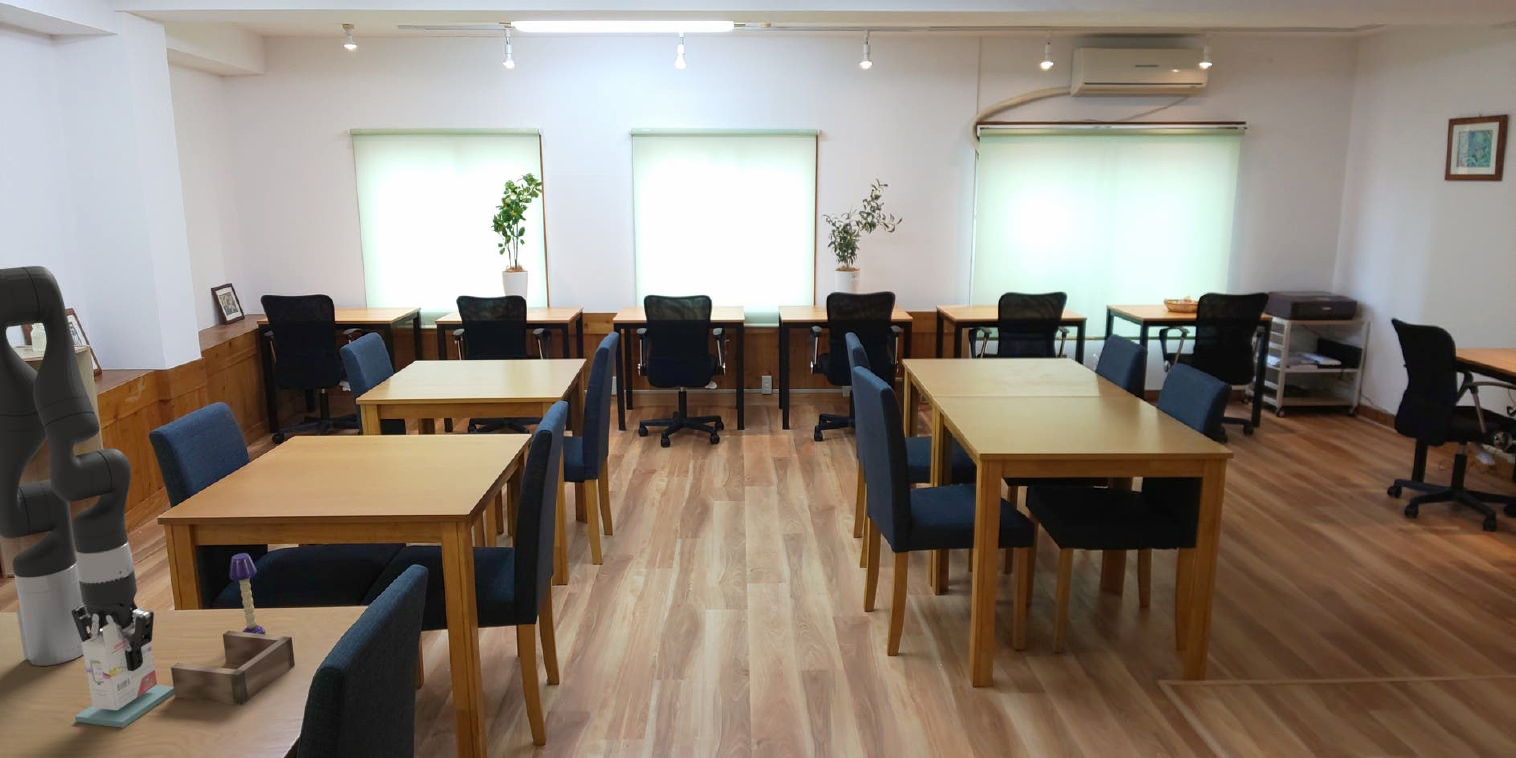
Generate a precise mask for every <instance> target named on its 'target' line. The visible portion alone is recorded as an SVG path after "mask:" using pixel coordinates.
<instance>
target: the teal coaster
mask: <svg viewBox="0 0 1516 758" xmlns="http://www.w3.org/2000/svg"><path fill="white" fill-rule="evenodd" d="M173 695H175V693H174V686H170V685H169V686H168V685H160V684H156V685H155V686H154V687H152V688H151V689H149V690H148V691H146V692H144V693H143V694H141V695H140V696H138V697H137V698H135V699H134V700H132V701H131V702H129V703H128V704H126V705H125V706H123V707H122V708H120V709H118V710H109V709H100V708H93V705H92V704H91V706H90V707H88V708H86V709H84V710H82V711H81V712H79V713H78V714H76V715H75V716H74V717H75V722H76V723H84V724H92V725H98V726H106V727H107V726H108V727H113V728H122V729H123V728H125V727H127V726H128V725H129V724H131V723H133V722H134V721H135V720H137V719H138V718H140V717H141V716H143V715H144V714H146V713H148V712H149V711H151V710H152V709H153V708H155V707H157V706H158V705H159V704H161V703H163V702H164V701H165V700H167V699H168V698H170V697H171V696H173Z"/></svg>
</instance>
